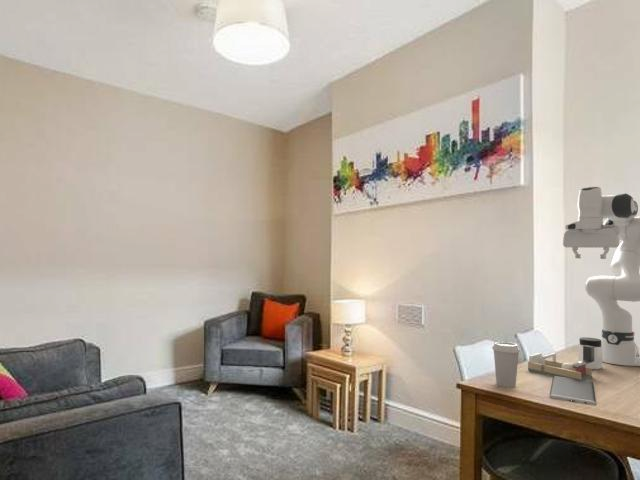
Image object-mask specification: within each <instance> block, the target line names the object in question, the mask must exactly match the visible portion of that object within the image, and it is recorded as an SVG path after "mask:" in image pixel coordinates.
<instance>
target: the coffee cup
mask: <svg viewBox="0 0 640 480" xmlns="http://www.w3.org/2000/svg"><path fill="white" fill-rule="evenodd" d="M491 348H492V350H493V356H494V358H493V360H494V369H495V382H496V383H495V385H497V386H498V387H502V388H516V386H517V376H518V374H517V373H518V364H519V354H520V353H521V349H520V347H519V345H518V343H514V342H509V341H497V342H494V343H493V346H492V347H491Z"/></svg>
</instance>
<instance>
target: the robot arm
mask: <svg viewBox="0 0 640 480" xmlns="http://www.w3.org/2000/svg"><path fill="white" fill-rule="evenodd" d="M577 200H578V201H577V210H578V216H577V221H575V222H572V223H569V224H566V225H565V231H564V233H563V239H562V245H563V247H564V248H571V250H572V251H573V253H574V254H575V255H574V257H575V259H581V254H580V253H579V252H578V251H579V248H585V249H586V248H589V249H590V248H593V249H594V248H597V249H599V248H603V253H602V254H600V257H599V258H600V260H606V259H607V255H608V253H609V252H610V248H616V250H615V252H614V254H613V257H612V260H611V263H610V266H609V267H610V271H611V272H612V274H613V275H596V276H590V277H588V279H587V280H586V282H585V285H584V287H585V291H586V293H587V295H588V296H589V297H591V298H592V299H593V300H594V301H595V302H596V304H597V305H598V307H599V309H600V311H601V315H602V329H601V339H600V340H601V346H602V358H603V362H604V363H608V364H610V365H611V364H612V365H618V366H629V367H631V366H632V367H633V366H634V367H635V366H636V367H640V353H639V352H640V349H639V346H638V345H637V343H636V342H635V331H633V315H632V314H631V313H630V312H629V310H627V309H625V308H622V307H621V306H620V305H619V303H618V301H620V302H623V301H624V302H634V303H635V302H636V303H637V302H640V216H637V215H638V211H639V207H638V206H639V205H638V203H637V201H635V200H634V198H633V196H631V194H629V193H620V194H612V195H611V194H609V195H603V192H602V188H601V187H600V186H589V187H582V188H580V190H579V193H578V198H577ZM604 219H606V220H604ZM620 241H621V242H620Z"/></svg>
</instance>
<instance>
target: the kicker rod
mask: <svg viewBox="0 0 640 480" xmlns="http://www.w3.org/2000/svg"><path fill="white" fill-rule="evenodd" d="M592 362H594V346H588V345H585V346H583V361H581V362H578V361H577V362H575V363H573V364H571V365H572V366H573V368H575V371H577V372H581V376H582V375H585V374H586V364H589V363H592Z"/></svg>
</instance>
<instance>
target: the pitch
mask: <svg viewBox="0 0 640 480" xmlns="http://www.w3.org/2000/svg"><path fill="white" fill-rule="evenodd" d="M550 358H552V360H550ZM564 363H565V362H560V361H557V353H556V352H552V353H548V354H545V355H542V353H541V352H538V353H534V354H530V355H528V362H527V370H529V372H532V371H534V373H537V372H538V373H537V374H542V375H546V376H552V377H554V376H558V377H565V378H572V379H579V380H586V381H588V380H589V379H591V378H592V376H593V371H592V370H593V369H592V368H587V367H586V374H585V375H582V376H581V372H577V371H575V368H573V370H567V369H562V368H561V366H562V364H564ZM572 367H573V366H572Z"/></svg>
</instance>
